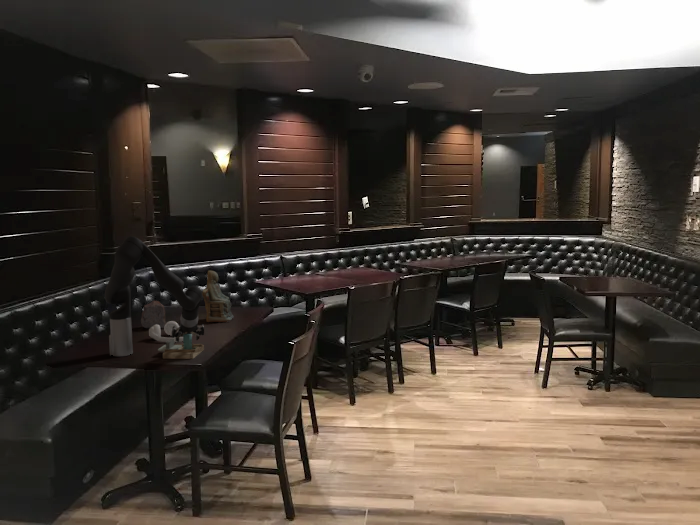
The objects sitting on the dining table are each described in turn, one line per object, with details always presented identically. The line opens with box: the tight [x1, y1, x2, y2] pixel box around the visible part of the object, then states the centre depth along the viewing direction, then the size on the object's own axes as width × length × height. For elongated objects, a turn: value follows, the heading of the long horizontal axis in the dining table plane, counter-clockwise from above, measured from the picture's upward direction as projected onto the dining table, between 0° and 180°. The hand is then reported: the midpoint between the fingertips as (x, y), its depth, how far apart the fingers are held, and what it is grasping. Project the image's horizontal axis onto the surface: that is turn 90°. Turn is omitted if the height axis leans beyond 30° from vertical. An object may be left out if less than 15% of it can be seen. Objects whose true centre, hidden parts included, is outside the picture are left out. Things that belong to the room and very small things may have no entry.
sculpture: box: [202, 270, 235, 323], centre depth 347 cm, size 24×16×30 cm, turn 179°
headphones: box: [148, 320, 183, 344], centre depth 303 cm, size 20×8×20 cm
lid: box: [157, 339, 182, 352], centre depth 273 cm, size 8×8×4 cm
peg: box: [182, 334, 193, 350], centre depth 272 cm, size 4×4×11 cm
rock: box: [140, 300, 167, 329], centre depth 329 cm, size 14×12×15 cm
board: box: [162, 343, 205, 360], centre depth 272 cm, size 14×16×3 cm
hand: (187, 339), depth 273 cm, fingers open, 8 cm apart
